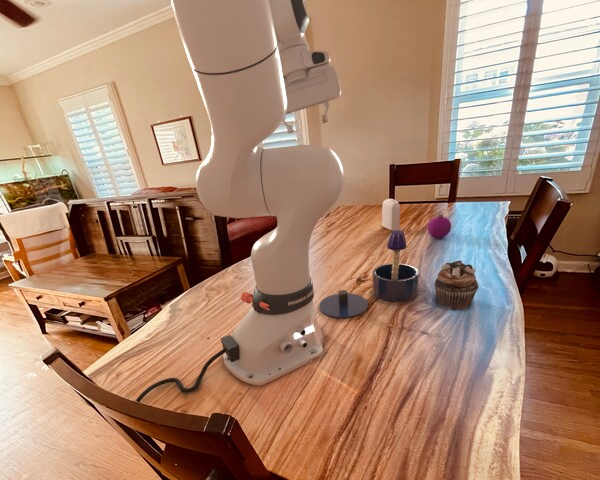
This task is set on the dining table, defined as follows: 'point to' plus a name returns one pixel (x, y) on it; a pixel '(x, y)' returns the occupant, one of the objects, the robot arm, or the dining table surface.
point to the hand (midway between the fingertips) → (307, 127)
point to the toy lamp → (396, 250)
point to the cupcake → (456, 285)
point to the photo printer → (391, 214)
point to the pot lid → (343, 305)
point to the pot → (395, 283)
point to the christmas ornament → (439, 226)
